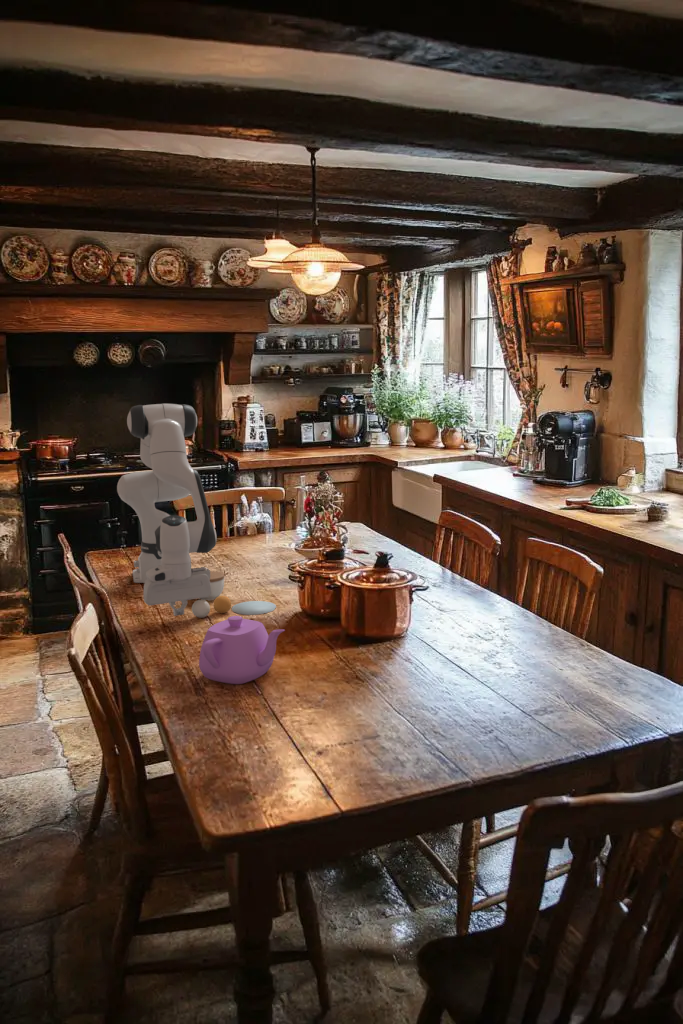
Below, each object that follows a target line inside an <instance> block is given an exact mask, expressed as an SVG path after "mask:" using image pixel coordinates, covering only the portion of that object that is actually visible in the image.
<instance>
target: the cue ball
mask: <svg viewBox="0 0 683 1024" xmlns="http://www.w3.org/2000/svg"><path fill="white" fill-rule="evenodd" d="M191 612H192V614H193V615H194V616H195V617H196V618H200V619H201V618H202V619H203V618H205V617H207V616H208V615H209V614H210V612H211V606H210V603H209V602H208V601H206V600H200V599H198V600H197V599H196V601H194V602H193V604H192V605H191Z"/></svg>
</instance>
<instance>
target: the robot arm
mask: <svg viewBox="0 0 683 1024" xmlns="http://www.w3.org/2000/svg"><path fill="white" fill-rule="evenodd" d="M126 424H127V425H126V426H127V428H128V431H129V433H130V434H131V435H132V436H133V437H134V438H137V439H140V447H139V450H140V451H139V457H140V459H141V462H142V463H143V464H144V465H145V466H146V467H147V468H150V469H151V470H149V471H148V470H146V471H144V470H143V471H134V472H130V473H127V474H124V475H121V477H120V478H119V479H118V482H117V485H116V492H117V494H118V496H119V498H120V500H121V501H123V502H124V503H126V504H127V505H128V506H130V507H131V508H132V509H133V510H134V511H135V514H136V515H137V517H138V519H139V522H140V523H139V524H140V530H141V542H140V551H141V552H140V554H139V556H138V558H137V559H138V560H134V561H133V566H134V568H135V569H133V570H132V578H133V579H132V581H133V583H137V584H138V583H139V584H140V583H141V584H142V583H143V602H144V603H145V604H146V605H148V606H155V605H162V604H169V606H170V607H171V609H172V612H173V616H175V617H177V616H183V615H185V609H186V607H187V605H188V601H190V600H197V599H198V600H199V599H200V598H204V597H209V596H210V595H211V585H210V581H209V579H210V571H211V570H210V569H209V568H208V567H205V566H201V567H194V568H193V567H192V557H191V555H190V554H192V553H196V554H197V553H198V554H208V553H209V552H210V551H212V550H213V549H214V548H215V547H216V545H217V539H218V538H217V537H218V536H217V531H216V529H215V526H214V524H213V521H212V518H211V513H210V511H209V510H210V509H209V507H208V502H207V498H206V493H205V491H204V487H203V482H202V479H201V477H200V474H199V472H198V470H196V469H194V468H193V467H192V465H190V463H189V460H188V455H187V446H186V441H185V440H186V439H185V437H189V436H192V435H193V434H194V433H195V432H196V430H197V426H198V416H197V413H196V410H195V409H194V407H193V406H192V405H189V404H183V403H182V404H177V403H156V404H154V403H153V404H146V405H145V404H144V405H142V404H138V405H133V406H131V407H130V408H129V412H128V414H127V418H126ZM189 495H190V496H191V499H192V501H193V505H194V509H195V510H194V511H195V514H196V517H197V519H196V520H194V521H187V518H186V517H184V516H180V515H171V514H169V513H167V512H165V511H163V510H160V509H158V508H156V506H155V503H162V502H168V501H169V502H171V501H178V500H182V499H184V498H187V497H189ZM176 602H181V603H182V604H181V606H180V607H178V608H176V604H177V603H176Z"/></svg>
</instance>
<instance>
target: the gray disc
mask: <svg viewBox="0 0 683 1024" xmlns="http://www.w3.org/2000/svg"><path fill="white" fill-rule="evenodd" d="M275 608H276V609H277V605H276V603H273V602H270V601H265V600H249V601H248V600H247V601H242V602H239V603H236V604H234V605H233V606H231V611H232V612H233V613H235V614H239V615H246V616H254V615H255V616H259V615H264V613H265V614H268V612H269V613H271V612H273V611H275V610H276V609H275Z"/></svg>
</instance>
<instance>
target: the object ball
mask: <svg viewBox="0 0 683 1024" xmlns="http://www.w3.org/2000/svg"><path fill="white" fill-rule="evenodd" d="M213 609H214V610H215V612H216V613H218V614H226V613H228V612H229V611H230V610H231V609H232V601H231V599H230V598H229V597H228V596H226V595H219V596H218V597H217V598H216V599H215V600H213Z"/></svg>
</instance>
